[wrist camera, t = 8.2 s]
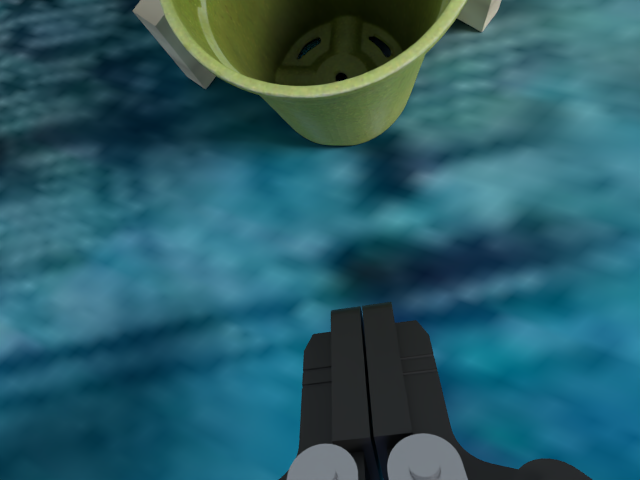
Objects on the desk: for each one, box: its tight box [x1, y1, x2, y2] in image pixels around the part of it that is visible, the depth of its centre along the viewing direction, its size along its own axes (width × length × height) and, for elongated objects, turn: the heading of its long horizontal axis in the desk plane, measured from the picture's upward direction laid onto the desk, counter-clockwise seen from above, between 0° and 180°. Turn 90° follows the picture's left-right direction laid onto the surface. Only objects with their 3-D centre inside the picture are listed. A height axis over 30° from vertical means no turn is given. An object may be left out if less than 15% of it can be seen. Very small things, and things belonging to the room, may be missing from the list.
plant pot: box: [160, 0, 467, 145], centre depth 18 cm, size 9×9×9 cm
